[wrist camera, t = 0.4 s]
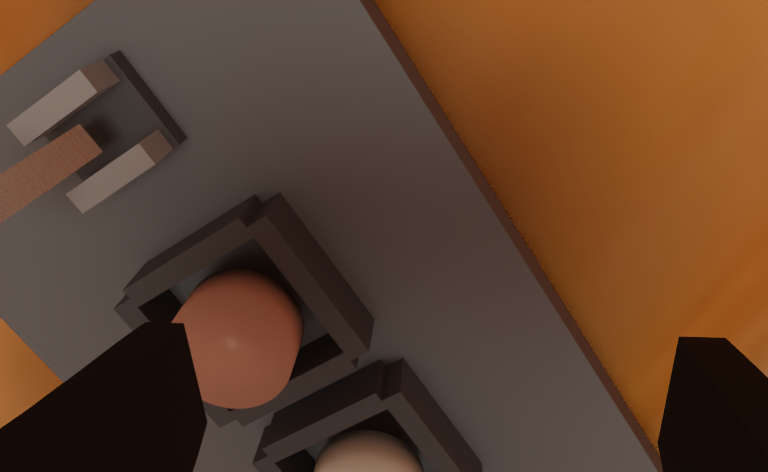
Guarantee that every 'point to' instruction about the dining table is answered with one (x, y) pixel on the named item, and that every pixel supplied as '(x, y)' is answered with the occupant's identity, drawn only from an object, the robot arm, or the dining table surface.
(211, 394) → the button terracotta
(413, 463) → the button cream
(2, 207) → the toggle lever
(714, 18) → the dining table surface
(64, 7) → the dining table surface
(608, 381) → the control panel
